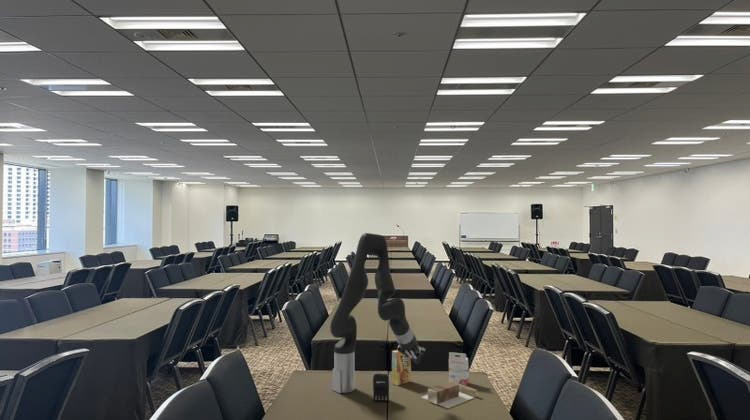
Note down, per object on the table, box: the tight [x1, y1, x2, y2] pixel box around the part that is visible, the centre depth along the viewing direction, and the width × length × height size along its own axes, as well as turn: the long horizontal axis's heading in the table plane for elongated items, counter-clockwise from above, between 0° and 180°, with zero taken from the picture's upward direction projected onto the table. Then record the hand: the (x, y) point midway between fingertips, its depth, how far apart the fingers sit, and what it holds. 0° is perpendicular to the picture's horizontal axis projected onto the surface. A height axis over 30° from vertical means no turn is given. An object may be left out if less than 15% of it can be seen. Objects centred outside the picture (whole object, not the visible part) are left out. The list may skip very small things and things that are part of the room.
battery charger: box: [372, 372, 390, 403], centre depth 198 cm, size 7×4×11 cm, turn 86°
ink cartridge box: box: [448, 351, 470, 387], centre depth 219 cm, size 9×5×15 cm, turn 68°
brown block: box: [427, 381, 459, 405], centre depth 199 cm, size 5×5×14 cm
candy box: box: [391, 349, 412, 386], centre depth 221 cm, size 9×4×15 cm, turn 129°
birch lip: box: [448, 380, 478, 399], centre depth 207 cm, size 2×15×3 cm, turn 39°
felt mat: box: [421, 392, 475, 409], centre depth 201 cm, size 17×15×1 cm
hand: (417, 361), depth 198 cm, fingers closed
